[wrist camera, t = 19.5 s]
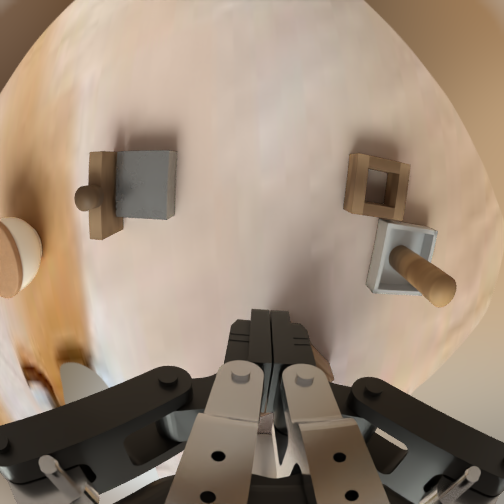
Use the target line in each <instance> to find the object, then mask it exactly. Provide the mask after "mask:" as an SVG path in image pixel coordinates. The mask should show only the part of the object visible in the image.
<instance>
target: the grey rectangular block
mask: <svg viewBox="0 0 504 504" xmlns="http://www.w3.org/2000/svg"><path fill="white" fill-rule="evenodd" d="M176 167H177V152H176V151H170V150H153V151H121V152H117V167H116V217H128V218H145V219H161V220H167V219H169V218H171V217H172V216H174V214H175V186H176Z"/></svg>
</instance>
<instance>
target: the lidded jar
mask: <svg viewBox="0 0 504 504" xmlns="http://www.w3.org/2000/svg"><path fill="white" fill-rule="evenodd" d="M41 257H42V243H41V240H40V237H39V235H38V233H37V231H36V230H35V229H34V228H33V227H31V226H30V225H29V224H28V223H27V222H26V221H24V220H22V219H20V218H16V217H4V218H0V296H1V297H4V298H12V297H13V296H15V295H16V294H17V293H18V292H19V291H21V290H22V289H24V288H25V287H26V286H27V285H28V284H29V283H30V282H31V281H32V280H33V279H34V277H35V276H36V274H37V272H38V269H39V267H40V262H41Z"/></svg>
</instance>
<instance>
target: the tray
mask: <svg viewBox="0 0 504 504" xmlns="http://www.w3.org/2000/svg"><path fill="white" fill-rule="evenodd" d="M437 233H438V231H436V230H434V229H432V228H429V227H427V226H421V225H416V224H410V223H404V222H398V221H391V220H385V219H379V222H378V228H377V234H376V239H375V244H374V249H373V254H372V259H371V264H370V268H369V273H368V277H367V281H366V285H367V287H368V288H369V289H370V290H371V292H372V293H377V294H396V295H419V296H422V294H421V293H420V292H419V291H418V290H417V289H416V288H415V287H414V286H413V285H411V284H410V283H409V282H408V281H407V280H406V279H405V278H404V277H402V276H401V275H400V274H399V273H398V272H397V271H396V270H394V269H393V268H392V267H391V266H390V264H389V255H390V252H391V251H392V249H393V248H395V247H396V246H399V245H403V246H406V247H407V248H409V249H410V250H412V251H413V252H415V253H417V254H418V255H420V256H421V257H423V258H424V259H426V260H427V261H429V262H430V263H431V260H432V256H433V251H434V247H435V242H436V238H437Z"/></svg>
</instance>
